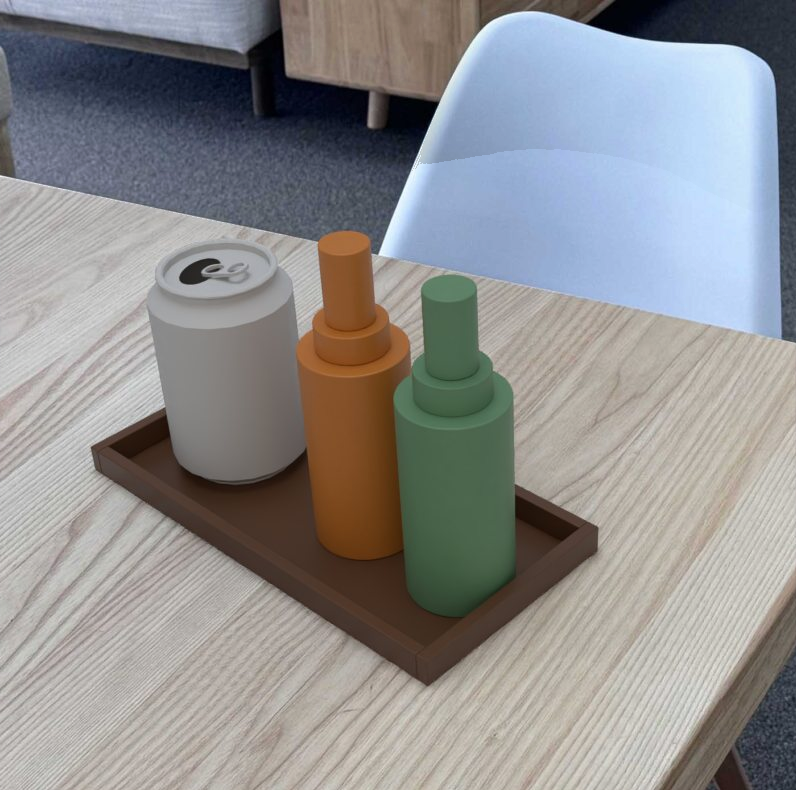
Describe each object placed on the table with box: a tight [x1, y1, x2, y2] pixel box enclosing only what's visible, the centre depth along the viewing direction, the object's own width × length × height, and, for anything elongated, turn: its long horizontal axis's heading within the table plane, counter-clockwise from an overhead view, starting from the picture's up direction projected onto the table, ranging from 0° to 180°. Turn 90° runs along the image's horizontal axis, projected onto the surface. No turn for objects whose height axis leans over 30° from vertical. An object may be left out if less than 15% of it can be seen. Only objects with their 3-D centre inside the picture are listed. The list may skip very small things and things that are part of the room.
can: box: [146, 237, 306, 485], centre depth 75 cm, size 8×8×12 cm
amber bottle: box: [296, 230, 412, 560], centre depth 68 cm, size 5×5×16 cm
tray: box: [89, 406, 599, 687], centre depth 74 cm, size 25×12×2 cm, turn 49°
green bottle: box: [393, 274, 516, 618], centre depth 64 cm, size 5×5×16 cm
